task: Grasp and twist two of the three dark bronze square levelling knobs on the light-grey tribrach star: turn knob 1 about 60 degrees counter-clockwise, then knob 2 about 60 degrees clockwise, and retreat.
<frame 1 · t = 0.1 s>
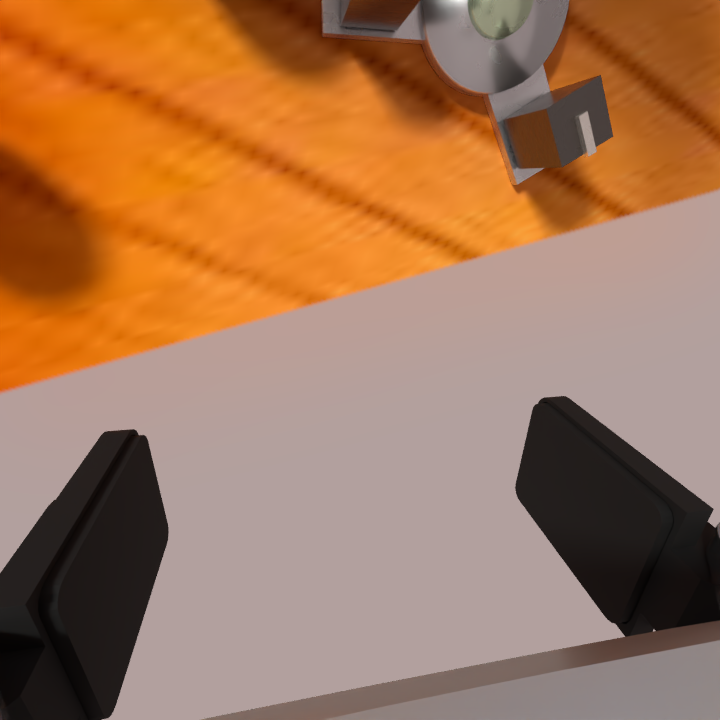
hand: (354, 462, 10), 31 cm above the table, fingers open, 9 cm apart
tribrach base: (487, 8, 32), on the table
knob 1: (556, 128, 33), point 5 cm above the table, hinge at 0.0°
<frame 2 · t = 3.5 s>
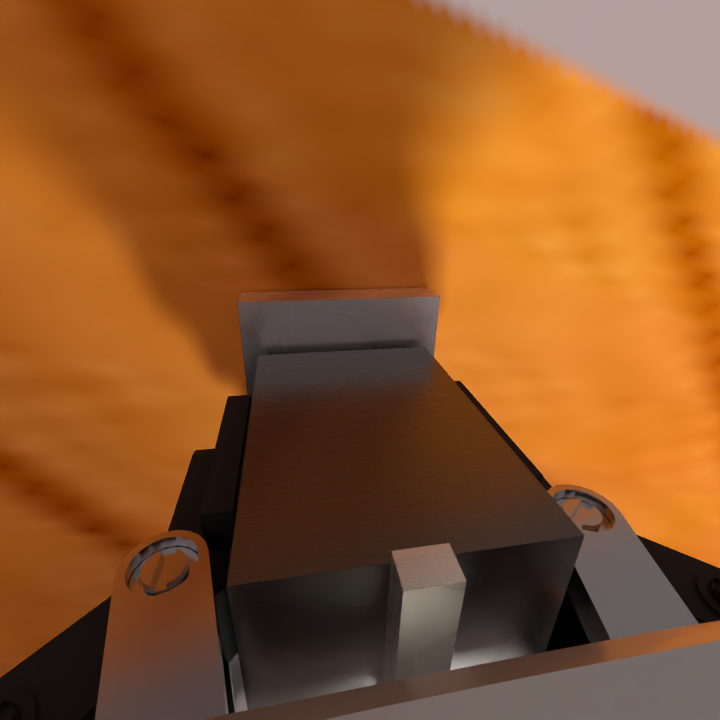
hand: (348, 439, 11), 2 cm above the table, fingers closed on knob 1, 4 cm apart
tribrach base: (339, 609, 17), on the table
knob 1: (367, 509, 8), point 5 cm above the table, hinge at 0.0°, touching gripper
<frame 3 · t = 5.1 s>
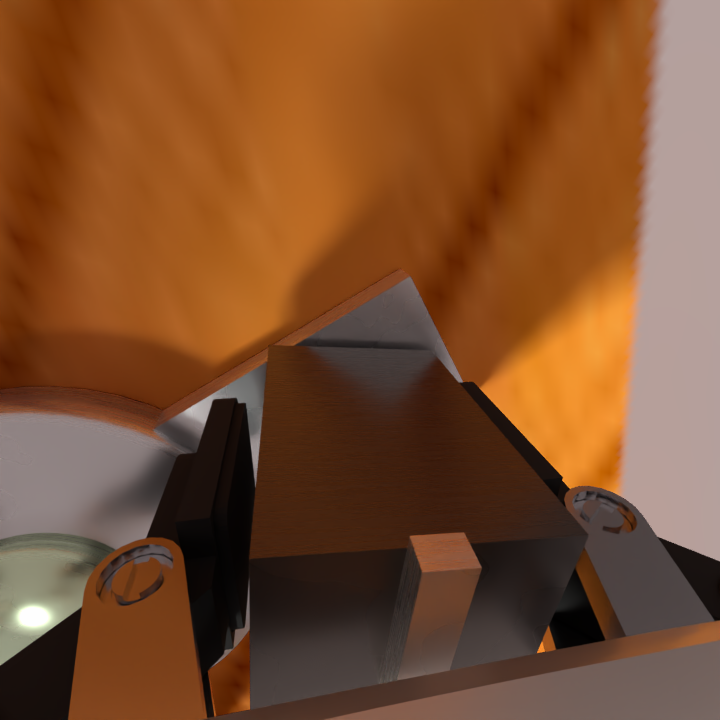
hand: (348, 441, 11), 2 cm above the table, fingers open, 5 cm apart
tribrach base: (83, 545, 13), on the table
knob 1: (369, 502, 8), point 5 cm above the table, hinge at 54.8°
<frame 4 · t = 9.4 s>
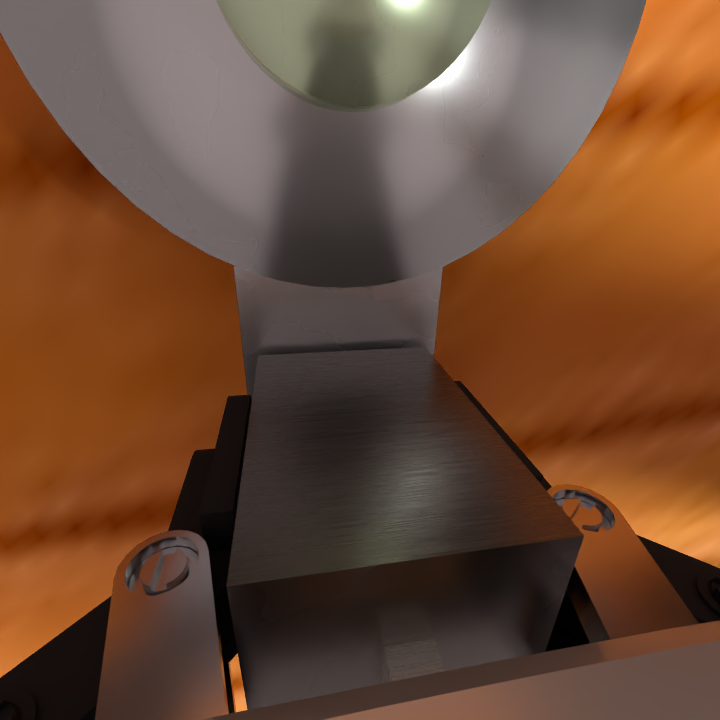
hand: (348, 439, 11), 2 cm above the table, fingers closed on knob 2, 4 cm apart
knob 2: (367, 516, 8), point 5 cm above the table, hinge at 0.0°, touching gripper
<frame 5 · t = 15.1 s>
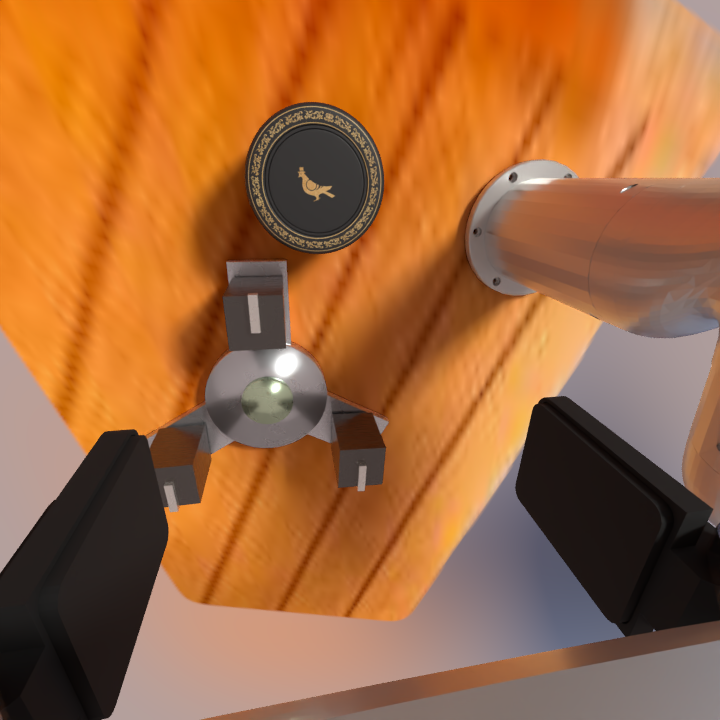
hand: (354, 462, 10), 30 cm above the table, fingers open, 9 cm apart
knob 2: (356, 450, 41), point 5 cm above the table, hinge at -62.1°
knob 3: (257, 311, 34), point 5 cm above the table, hinge at 0.0°
tribrach base: (268, 390, 42), on the table
knob 1: (178, 466, 38), point 5 cm above the table, hinge at 60.8°
jar: (310, 182, 35), on the table
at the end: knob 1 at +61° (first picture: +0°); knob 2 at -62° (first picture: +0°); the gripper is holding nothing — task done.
